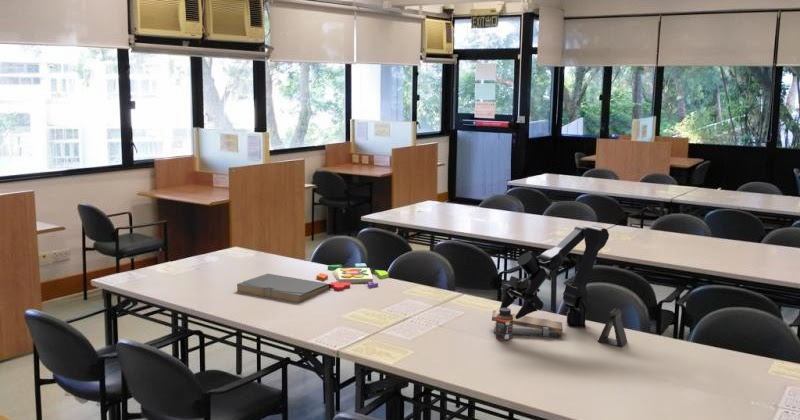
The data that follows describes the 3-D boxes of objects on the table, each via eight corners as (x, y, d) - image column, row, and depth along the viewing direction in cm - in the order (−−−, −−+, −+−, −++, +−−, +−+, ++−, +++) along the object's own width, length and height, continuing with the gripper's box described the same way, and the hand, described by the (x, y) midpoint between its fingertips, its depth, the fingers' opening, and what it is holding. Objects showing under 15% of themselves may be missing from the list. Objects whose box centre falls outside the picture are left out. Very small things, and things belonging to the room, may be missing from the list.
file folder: (236, 283, 317) (270, 272, 338) (236, 292, 318) (270, 280, 339) (299, 294, 302) (330, 282, 324) (299, 304, 303) (330, 291, 324)
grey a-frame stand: (627, 342, 265) (630, 311, 262) (622, 347, 260) (624, 315, 258) (603, 337, 270) (605, 306, 268) (597, 342, 265) (599, 310, 263)
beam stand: (558, 328, 278) (559, 319, 278) (559, 338, 267) (560, 329, 267) (494, 323, 282) (495, 315, 282) (493, 333, 272) (493, 324, 271)
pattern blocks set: (306, 271, 355) (306, 265, 354) (371, 266, 368) (371, 260, 367) (331, 292, 320) (331, 286, 320) (401, 286, 333) (401, 279, 333)
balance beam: (561, 326, 276) (562, 322, 276) (562, 333, 268) (562, 329, 268) (492, 313, 280) (493, 310, 280) (491, 320, 272) (492, 316, 272)
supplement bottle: (511, 342, 262) (513, 312, 260) (494, 341, 263) (496, 311, 261) (512, 337, 268) (513, 307, 266) (496, 335, 269) (497, 306, 267)
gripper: (506, 262, 273) (480, 294, 269) (539, 274, 257) (512, 308, 253) (521, 280, 278) (496, 312, 274) (555, 293, 262) (529, 327, 258)
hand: (508, 314), depth 265 cm, fingers open, 9 cm apart
